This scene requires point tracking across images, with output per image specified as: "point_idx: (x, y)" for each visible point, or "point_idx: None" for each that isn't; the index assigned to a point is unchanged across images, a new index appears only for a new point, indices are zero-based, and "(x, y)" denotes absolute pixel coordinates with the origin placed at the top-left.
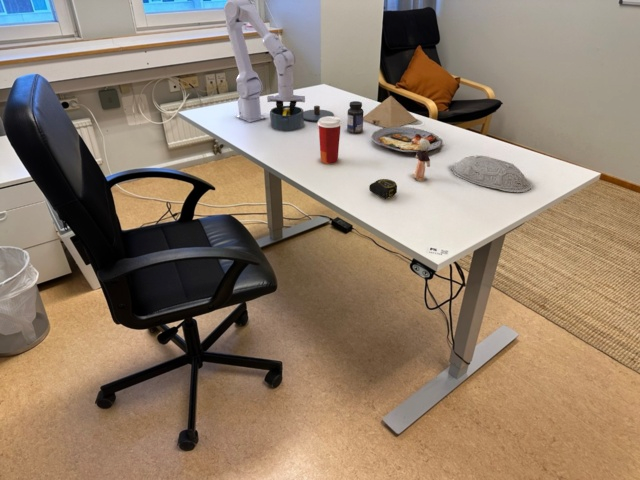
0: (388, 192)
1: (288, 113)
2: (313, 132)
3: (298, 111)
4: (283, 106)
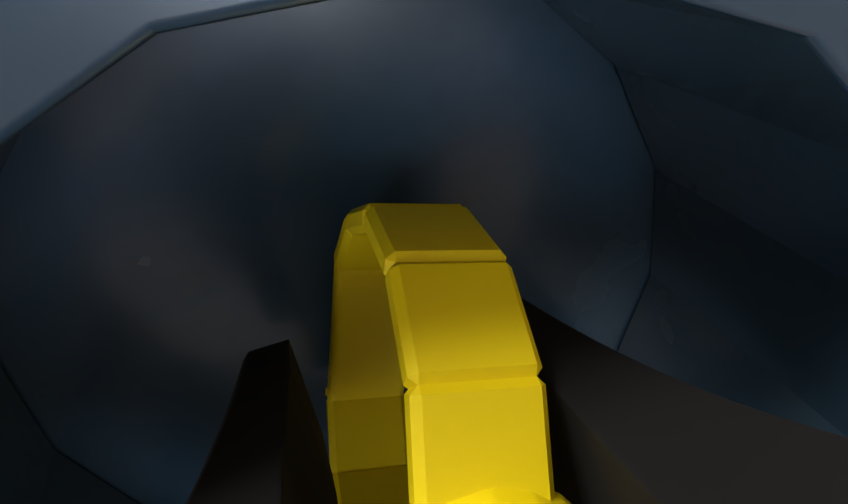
0: None
1: (411, 271)
2: None
3: (760, 89)
4: (27, 102)
